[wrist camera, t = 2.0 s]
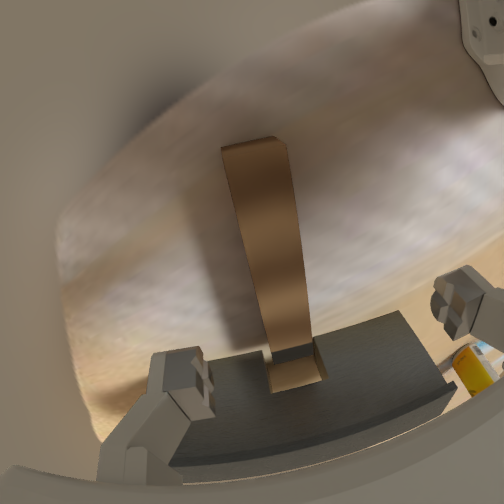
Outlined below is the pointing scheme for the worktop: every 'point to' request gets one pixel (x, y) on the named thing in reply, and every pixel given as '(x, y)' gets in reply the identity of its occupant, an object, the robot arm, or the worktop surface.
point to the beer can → (474, 369)
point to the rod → (271, 242)
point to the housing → (315, 404)
